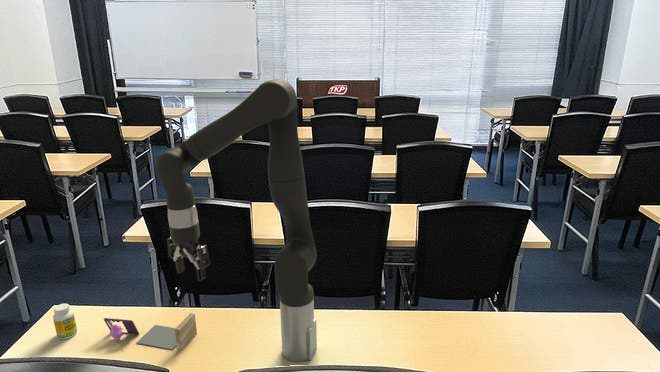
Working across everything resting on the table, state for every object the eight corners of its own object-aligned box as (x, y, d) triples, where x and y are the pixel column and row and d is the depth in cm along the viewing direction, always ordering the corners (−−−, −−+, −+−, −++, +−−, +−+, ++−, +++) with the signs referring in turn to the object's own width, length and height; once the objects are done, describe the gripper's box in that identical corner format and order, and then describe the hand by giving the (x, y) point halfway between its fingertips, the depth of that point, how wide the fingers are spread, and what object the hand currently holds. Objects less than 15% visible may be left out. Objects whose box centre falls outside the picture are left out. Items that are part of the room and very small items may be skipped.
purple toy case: (133, 318, 133) (105, 315, 134) (124, 333, 128) (95, 330, 130) (140, 331, 137) (113, 329, 138) (132, 347, 133) (104, 344, 134)
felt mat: (189, 331, 137) (189, 330, 137) (172, 350, 129) (172, 349, 129) (155, 325, 140) (155, 324, 140) (136, 343, 132) (136, 342, 132)
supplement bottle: (68, 327, 139) (62, 300, 136) (81, 330, 138) (76, 303, 135) (52, 338, 134) (46, 310, 131) (67, 341, 133) (60, 313, 130)
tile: (197, 334, 136) (194, 313, 134) (182, 350, 129) (179, 329, 126) (191, 333, 136) (189, 313, 134) (176, 349, 129) (174, 328, 127)
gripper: (212, 222, 120) (219, 276, 125) (177, 213, 128) (185, 264, 133) (190, 231, 114) (198, 288, 119) (154, 221, 122) (163, 275, 127)
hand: (191, 275), depth 126 cm, fingers open, 8 cm apart
